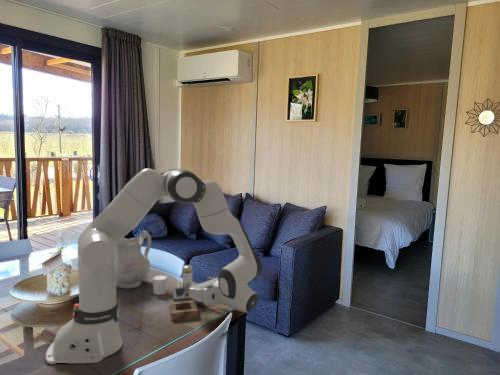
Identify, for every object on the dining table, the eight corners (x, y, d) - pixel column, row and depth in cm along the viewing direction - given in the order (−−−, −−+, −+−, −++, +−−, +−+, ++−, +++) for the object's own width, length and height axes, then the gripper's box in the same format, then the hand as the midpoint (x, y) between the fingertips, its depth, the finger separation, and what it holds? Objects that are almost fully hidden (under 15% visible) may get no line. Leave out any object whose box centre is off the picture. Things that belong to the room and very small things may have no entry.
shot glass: (163, 296, 163) (163, 280, 162) (149, 294, 165) (149, 279, 164) (170, 290, 170) (170, 275, 169) (156, 288, 171) (156, 274, 170)
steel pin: (183, 300, 157) (183, 268, 156) (182, 296, 161) (182, 265, 159) (193, 299, 158) (193, 267, 157) (191, 295, 162) (191, 264, 161)
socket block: (171, 320, 140) (171, 313, 140) (169, 309, 150) (169, 302, 150) (197, 317, 143) (198, 310, 143) (194, 307, 153) (194, 300, 152)
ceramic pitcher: (134, 275, 191) (130, 227, 189) (163, 279, 182) (159, 229, 180) (99, 289, 172) (94, 236, 170) (129, 295, 163) (125, 239, 161)
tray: (174, 307, 152) (174, 298, 152) (172, 295, 164) (172, 287, 163) (203, 304, 156) (203, 296, 155) (199, 293, 167) (199, 285, 167)
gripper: (241, 276, 152) (217, 268, 161) (202, 290, 137) (179, 281, 146) (240, 291, 152) (217, 282, 162) (202, 307, 137) (179, 296, 146)
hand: (199, 282), depth 154 cm, fingers open, 8 cm apart
